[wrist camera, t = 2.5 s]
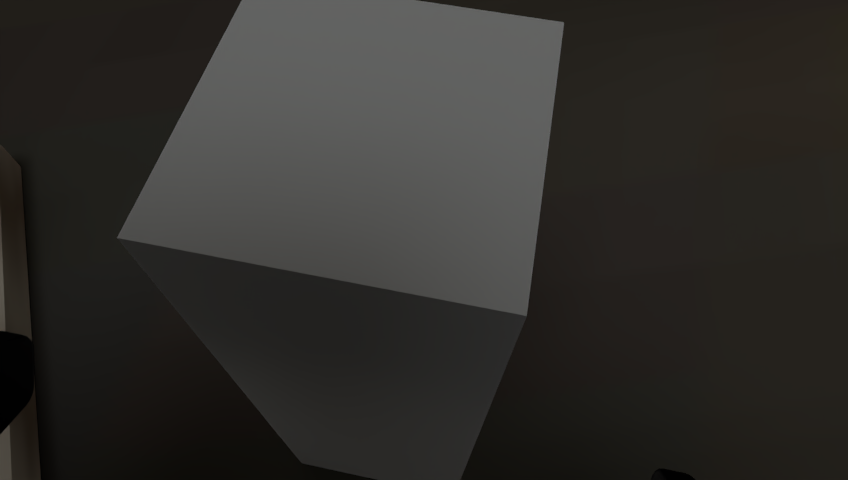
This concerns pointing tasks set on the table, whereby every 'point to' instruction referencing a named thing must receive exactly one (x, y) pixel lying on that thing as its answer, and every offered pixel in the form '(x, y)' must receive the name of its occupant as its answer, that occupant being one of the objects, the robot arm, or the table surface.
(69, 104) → the table surface
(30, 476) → the oak plinth
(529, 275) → the tall grey block
